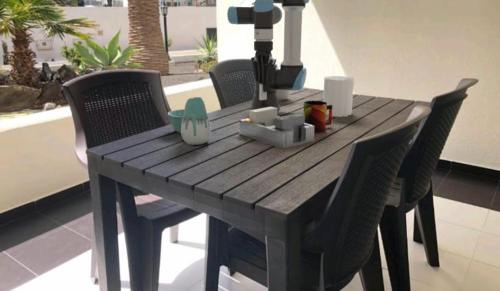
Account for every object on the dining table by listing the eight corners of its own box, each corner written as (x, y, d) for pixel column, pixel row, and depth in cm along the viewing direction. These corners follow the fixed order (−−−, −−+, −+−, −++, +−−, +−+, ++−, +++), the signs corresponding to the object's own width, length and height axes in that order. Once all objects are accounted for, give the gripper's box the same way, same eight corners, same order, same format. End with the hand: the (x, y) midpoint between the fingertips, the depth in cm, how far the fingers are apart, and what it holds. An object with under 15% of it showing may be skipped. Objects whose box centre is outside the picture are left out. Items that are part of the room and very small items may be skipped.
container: (339, 118, 197) (341, 81, 192) (316, 113, 208) (318, 78, 202) (357, 113, 207) (359, 78, 201) (334, 109, 217) (336, 75, 211)
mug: (331, 126, 182) (333, 100, 178) (321, 134, 170) (322, 106, 166) (311, 124, 186) (312, 98, 182) (299, 131, 174) (300, 103, 171)
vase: (178, 140, 162) (175, 95, 157) (206, 137, 166) (204, 93, 161) (185, 148, 152) (183, 101, 147) (215, 144, 156) (214, 98, 151)
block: (249, 131, 170) (249, 110, 167) (270, 126, 177) (270, 106, 174) (255, 133, 167) (255, 112, 164) (277, 128, 174) (277, 108, 172)
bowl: (191, 124, 186) (190, 107, 184) (213, 131, 175) (212, 112, 173) (161, 131, 176) (160, 112, 173) (183, 138, 165) (182, 118, 162)
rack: (239, 133, 171) (238, 110, 168) (269, 127, 181) (269, 104, 178) (283, 148, 151) (284, 122, 148) (314, 140, 161) (315, 115, 158)
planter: (292, 102, 235) (292, 75, 230) (262, 102, 235) (262, 75, 231) (289, 96, 251) (290, 71, 247) (262, 96, 251) (262, 71, 247)
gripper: (245, 40, 163) (246, 98, 170) (267, 41, 154) (266, 103, 161) (260, 39, 168) (259, 96, 175) (281, 40, 158) (280, 100, 165)
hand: (263, 99), depth 168 cm, fingers closed
